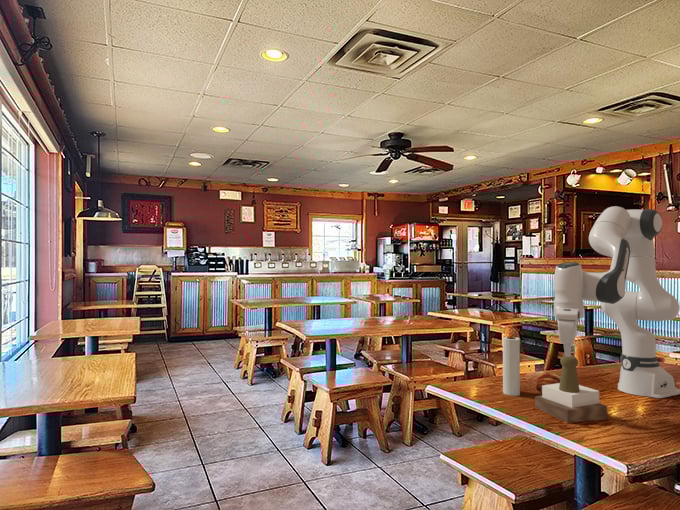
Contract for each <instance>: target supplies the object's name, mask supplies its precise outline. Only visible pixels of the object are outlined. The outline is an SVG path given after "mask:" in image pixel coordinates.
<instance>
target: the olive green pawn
mask: <svg viewBox="0 0 680 510" xmlns="http://www.w3.org/2000/svg"><path fill="white" fill-rule="evenodd" d="M560 365H561V366H562V367H561V371H560V372H561V373H560V377H561V378H560V386H559V390H561V391H563V392H568V393H578V392H580V390H579V385H580V384H579V377H578V371H577V367H578V365H579V360H578V358H577V357H576V356H572V355H571V356H570V357H566V356H565V355H562V357H561V358H560Z"/></svg>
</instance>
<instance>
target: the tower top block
mask: <svg viewBox="0 0 680 510" xmlns="http://www.w3.org/2000/svg"><path fill="white" fill-rule="evenodd" d="M559 386H560V383H556V384H549V385H542V392H541V393H542V394H541V396H542V397H543V398H545V399H548V400H551V401H554V402H557V403H560V404H562V405H565V406H568V407H571V408H575V407H581V406H586V405H592V404H598V403H600V390H597V389H594V388H590V387H587V386H585V385H584V386H583V385H581V384H579V390H580V392H578V393H568V392H563V391H561V390H559Z"/></svg>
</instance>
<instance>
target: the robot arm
mask: <svg viewBox="0 0 680 510" xmlns="http://www.w3.org/2000/svg"><path fill="white" fill-rule="evenodd" d="M662 227H663V219H662V215H661V213H659V211H657V209H653V208H652V209H651V208H645V209H642V208H641V209H625V208H624V207H622V206H617V205H615V206H613V205H612V206H610V207H609V206H608V207H607V208H606V209H604V210H603V211H602V213H601V214H600V215H598V217H597V219H596V220H595V222H594V224H593V226H592V227H591V229H590V232H589V235H588V243H589V245H590V247H591V248H592V249H593V250H594V251H595V252H597V253H598V254H599V255H602V256H606V257H610V258H611V262H610V263H611V264H610V268H609V269H608V270H607V271H603V272H590V271H585V270H583V268H582V265H581V263H580V262H576V261H575V262H574V261H573V262H571V261H570V262H569V261H568V262H561V263H558V264H557V265H556V266H555V270H554V275H553V291H554V299H553V317H555V320H557V329H558V330H557V331H558V338H559V343H560V344H563V350H564V355H563V356H566V357H570V356H572V352H573V351H574V343H575V339H576V337H577V335H578V334H577V333H578V329H577V328H578V323H580V319H582V318H584V317H585V311H584V309H585V308H584V305H585V304H584V301H587V302H598V303H599V302H600V306H601V310H602V312H603V313H604V314H605V315H606V316H607V317H608V318H609V319H611V320H612V321H613V322H614V323H615V325H616V327H617V328H618V330H619V332H620V337H621V346H622V347H621V350H622V352H621V354H620V362H621V366H620V370H619V371H620V373H619V381H618V382H617V390H618V391H620V392H623V393H626V394H630V395H635V396H641V397H650V398H656V399H662V398H663V399H664V398H668V397H672V396H677V395H680V388H678V387H676V385H675V378H674V377H673V375H672V374H670V373H669V372H668V371H666V370H665V369H664V368H663V367H661V364H664V363H665V362H666V359H665V357H661V356H657V347H656V346H657V345H656V341H657V339H656V337H655V335H654V334H653V333H652V332H650V331H649V330H647V329H645V328H644V327H641V326H640V325H639V324H638V322H637V321H649V322H650V321H652V322H663V321H664V322H666V321H673V320H674V319H676V317H677V316H678V314H679V312H680V303H679V300H678V299H677V298H676V297H675V296H674V295H673V294H671V293H670V292H668V291H667V290H666V289H665V288H664V287H663V286H662V285H661V283H660V282H659V280H658V276H657V271H656V252H655V251H656V250H655V243H654V238H655V237H657V236H658V235H659V234H660V232H661V231H662V229H663V228H662ZM627 281H628V282H630V283H633V284H635V285H636V286H638V288H639V290H640V291H639V290H638V291H629V290H626V286H627V285H626V284H627V283H626V282H627ZM660 363H661V364H660Z"/></svg>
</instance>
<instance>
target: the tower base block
mask: <svg viewBox="0 0 680 510" xmlns="http://www.w3.org/2000/svg"><path fill="white" fill-rule="evenodd" d="M534 398H535V400H534V406H535V407H534V408H536V409H537V408H538V409H537V410H540V411H542V412H544V413H546V414H549V415H551V416H552V417H555V418H557V419H559V420H561V421H563V422H566V423H568V424H569V422H570V423H580V422H581V421H582V422H592V421H602V420H603V421H604V420H608V406H607V405H605V404H602V403H601V402H599V403H598V404H592V405H586V406H581V407H575V408H571V407H568V406H565V405H562V404H560V403H557V402H554V401H551V400H548V399H545V398H543V397H542V395H536V396H534ZM579 421H580V422H579ZM582 422H581V423H582Z"/></svg>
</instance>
